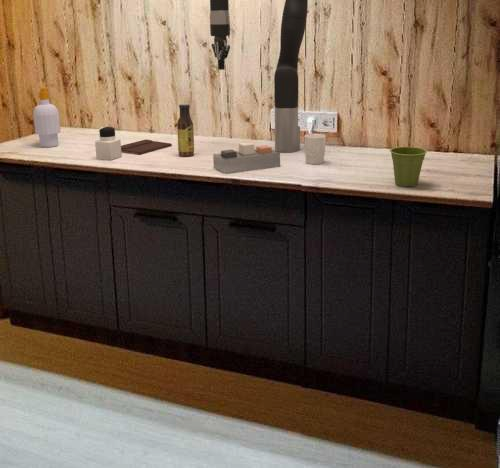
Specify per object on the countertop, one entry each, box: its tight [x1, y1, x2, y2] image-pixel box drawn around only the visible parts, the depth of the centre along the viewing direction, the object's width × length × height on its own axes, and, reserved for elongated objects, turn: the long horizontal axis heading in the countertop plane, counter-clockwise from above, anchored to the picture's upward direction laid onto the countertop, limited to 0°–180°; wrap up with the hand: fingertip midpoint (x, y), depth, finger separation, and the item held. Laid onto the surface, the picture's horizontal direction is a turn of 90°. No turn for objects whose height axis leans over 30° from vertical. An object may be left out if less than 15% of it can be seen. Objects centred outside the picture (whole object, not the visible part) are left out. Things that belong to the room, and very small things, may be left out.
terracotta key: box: [255, 145, 273, 153], centre depth 267 cm, size 4×4×4 cm
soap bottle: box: [32, 86, 61, 148], centre depth 305 cm, size 10×10×24 cm
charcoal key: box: [220, 149, 237, 158], centre depth 261 cm, size 4×4×4 cm
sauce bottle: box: [176, 103, 195, 157], centre depth 284 cm, size 6×6×20 cm
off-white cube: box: [238, 142, 255, 155], centre depth 264 cm, size 4×4×4 cm
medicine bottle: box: [94, 126, 123, 161], centre depth 283 cm, size 7×7×12 cm
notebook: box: [121, 139, 173, 156], centre depth 300 cm, size 15×20×2 cm
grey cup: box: [303, 133, 327, 165], centre depth 269 cm, size 8×8×10 cm
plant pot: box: [389, 146, 428, 187], centre depth 237 cm, size 12×12×11 cm
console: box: [212, 148, 281, 174], centre depth 265 cm, size 22×10×5 cm, turn 116°
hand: (221, 69), depth 283 cm, fingers closed
